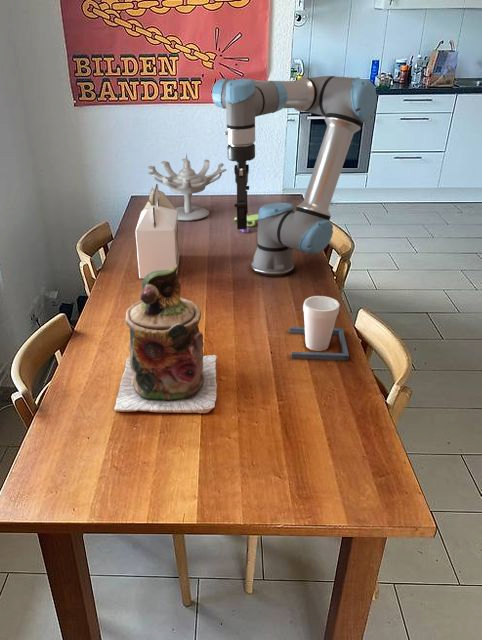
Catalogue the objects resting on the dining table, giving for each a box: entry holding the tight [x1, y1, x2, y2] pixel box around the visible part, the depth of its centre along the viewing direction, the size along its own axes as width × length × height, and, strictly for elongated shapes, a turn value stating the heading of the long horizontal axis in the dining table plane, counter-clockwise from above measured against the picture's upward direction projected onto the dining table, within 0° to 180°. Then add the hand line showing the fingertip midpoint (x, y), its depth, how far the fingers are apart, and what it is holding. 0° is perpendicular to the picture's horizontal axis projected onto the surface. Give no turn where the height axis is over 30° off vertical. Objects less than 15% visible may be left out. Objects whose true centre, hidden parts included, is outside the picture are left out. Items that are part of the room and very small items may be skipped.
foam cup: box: [302, 295, 340, 352], centre depth 159 cm, size 10×9×13 cm
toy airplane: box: [233, 213, 259, 234], centre depth 246 cm, size 18×27×6 cm
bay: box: [289, 326, 350, 361], centre depth 162 cm, size 15×15×2 cm
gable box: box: [135, 183, 180, 280], centre depth 205 cm, size 22×13×28 cm, turn 179°
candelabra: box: [147, 152, 227, 222], centre depth 255 cm, size 34×35×27 cm
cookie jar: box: [114, 264, 218, 414], centre depth 138 cm, size 25×25×32 cm
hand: (242, 220), depth 168 cm, fingers open, 13 cm apart
